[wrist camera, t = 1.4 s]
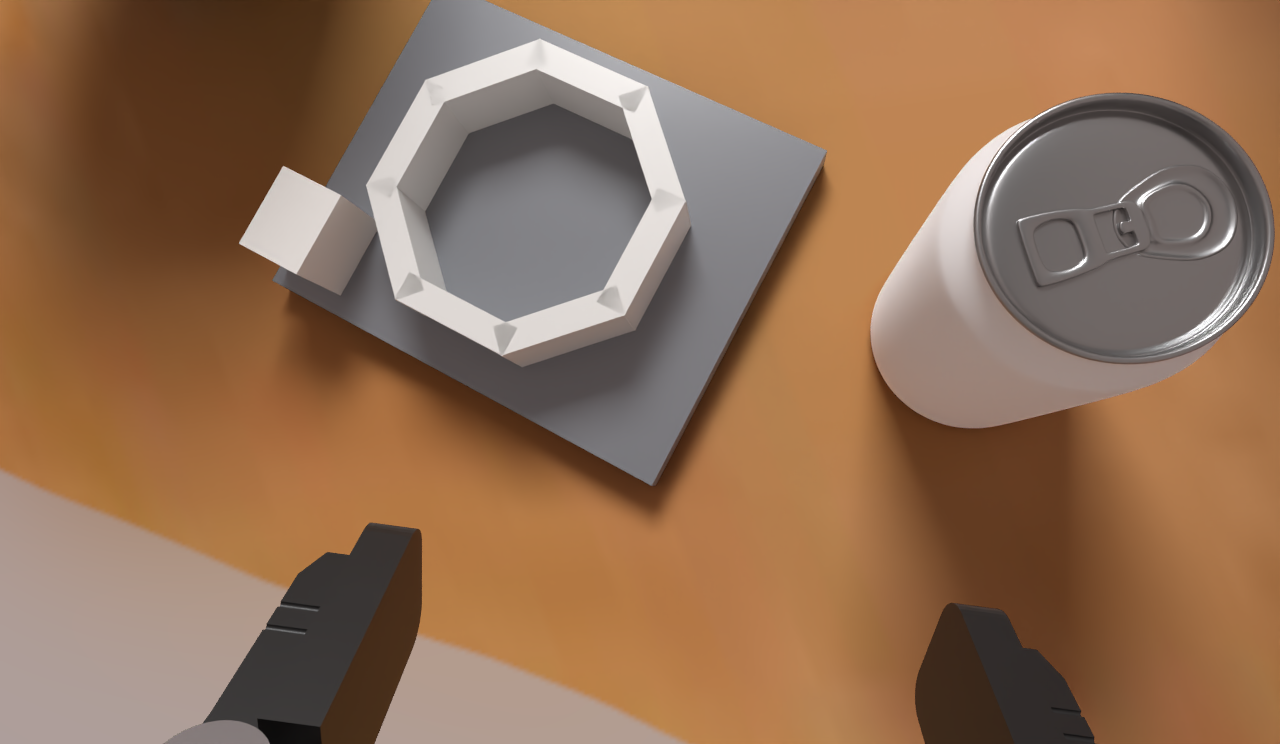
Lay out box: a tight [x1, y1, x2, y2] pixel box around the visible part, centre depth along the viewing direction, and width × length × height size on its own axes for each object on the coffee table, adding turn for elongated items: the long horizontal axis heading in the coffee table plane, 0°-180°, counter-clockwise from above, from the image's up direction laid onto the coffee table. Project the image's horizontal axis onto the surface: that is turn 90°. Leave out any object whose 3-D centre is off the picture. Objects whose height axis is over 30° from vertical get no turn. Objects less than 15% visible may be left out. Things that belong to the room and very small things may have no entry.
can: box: [871, 93, 1275, 428], centre depth 22 cm, size 6×6×12 cm
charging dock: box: [239, 0, 827, 486], centre depth 29 cm, size 13×16×4 cm
